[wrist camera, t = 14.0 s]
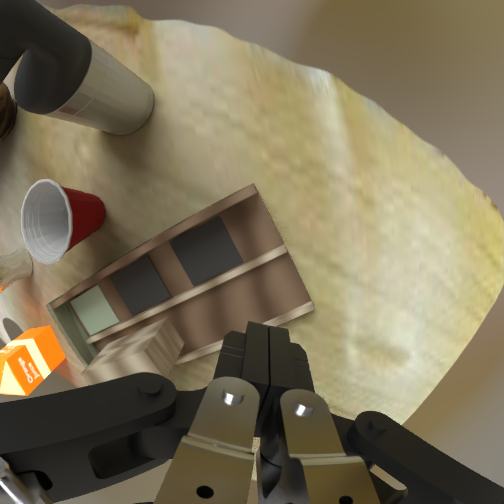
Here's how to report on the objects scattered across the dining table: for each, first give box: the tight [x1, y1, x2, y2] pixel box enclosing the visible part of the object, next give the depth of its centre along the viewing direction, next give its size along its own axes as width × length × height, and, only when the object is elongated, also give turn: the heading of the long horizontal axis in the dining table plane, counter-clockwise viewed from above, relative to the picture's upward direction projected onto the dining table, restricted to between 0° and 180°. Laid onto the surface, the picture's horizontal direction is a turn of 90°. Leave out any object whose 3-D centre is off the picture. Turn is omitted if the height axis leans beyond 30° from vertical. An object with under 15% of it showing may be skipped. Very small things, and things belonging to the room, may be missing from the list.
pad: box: [70, 285, 120, 335], centre depth 42 cm, size 8×7×1 cm
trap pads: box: [110, 216, 243, 316], centre depth 39 cm, size 20×7×1 cm, turn 117°
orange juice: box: [0, 326, 66, 396], centre depth 36 cm, size 8×9×20 cm
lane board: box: [46, 183, 315, 368], centre depth 39 cm, size 39×19×5 cm, turn 117°
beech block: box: [81, 317, 185, 386], centre depth 38 cm, size 14×5×10 cm, turn 117°
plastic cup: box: [21, 179, 105, 265], centre depth 33 cm, size 11×11×12 cm
